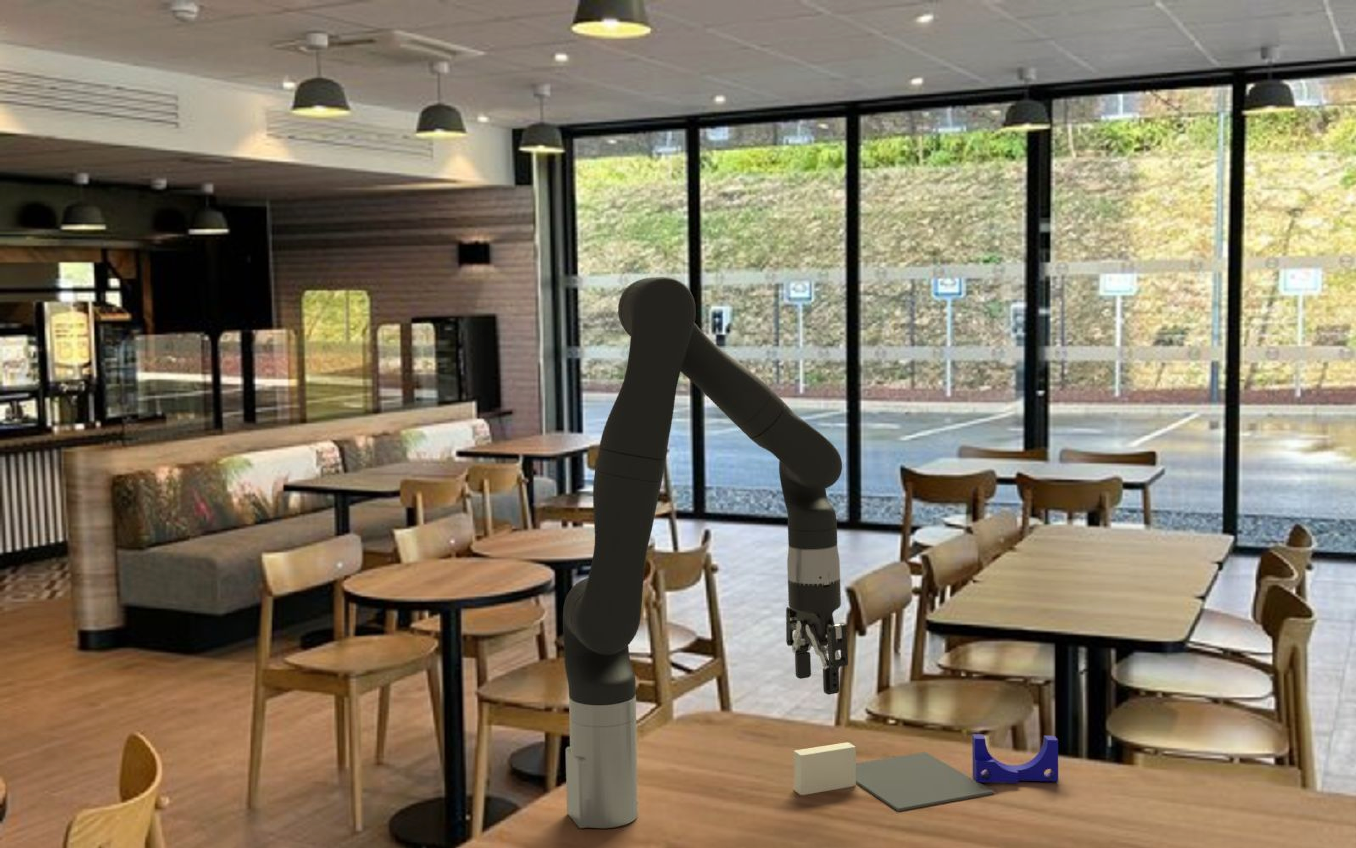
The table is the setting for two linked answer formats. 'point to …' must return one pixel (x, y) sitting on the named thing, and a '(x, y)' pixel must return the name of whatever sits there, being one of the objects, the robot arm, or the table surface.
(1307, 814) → the table surface
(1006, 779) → the blue u-shaped bracket
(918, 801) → the mat
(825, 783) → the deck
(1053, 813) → the table surface
